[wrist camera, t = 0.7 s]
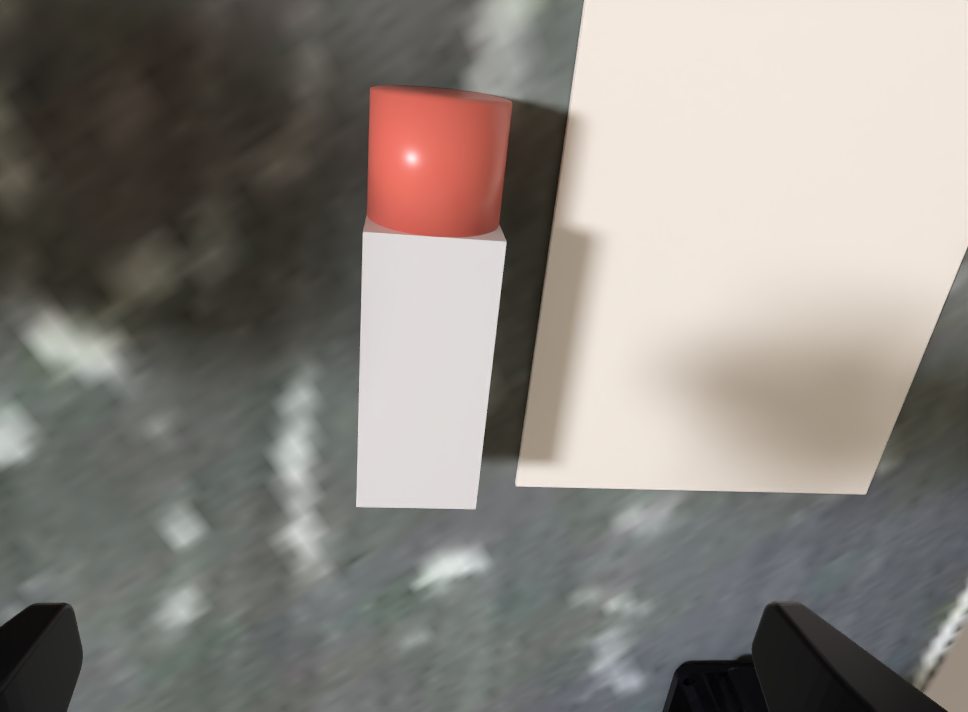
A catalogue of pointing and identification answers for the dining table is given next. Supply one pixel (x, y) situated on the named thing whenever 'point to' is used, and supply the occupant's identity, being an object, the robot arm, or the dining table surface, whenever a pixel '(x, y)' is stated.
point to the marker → (429, 293)
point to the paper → (747, 242)
